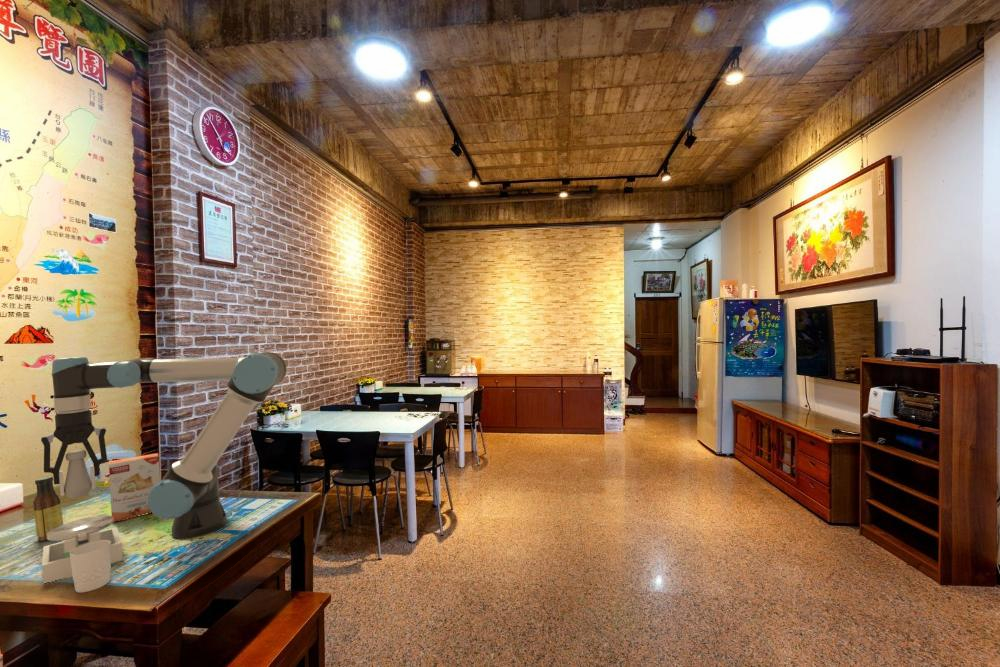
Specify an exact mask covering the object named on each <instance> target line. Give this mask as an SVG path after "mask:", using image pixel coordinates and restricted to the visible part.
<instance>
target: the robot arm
mask: <svg viewBox="0 0 1000 667" xmlns="http://www.w3.org/2000/svg"><path fill="white" fill-rule="evenodd" d="M51 365H52V368H51V377H52V388H53V408H54V410H53V411H54V413H56V414H55V415H54V421H55V422H54V423H55V429H54V431H53V433H51V434H48V435H43V436H41V439H40V440H41V441H40V442H41V443H42V445H43V472H44V473H46V474H47V473H51V474H52V477H53V485H54V486H55V485H59V491H60V493H59V494H60V495H59V496H60V497H63V496H65V492H64V487H65V481H64V470H61V467H62V464H63V460H64V458H65V456H66V452H67V449H68V446H70V445H74V444H83V446H84V448H85V451H86V453H87V454H88V456H89V458H90V459H91V461H92V464H91V465H90V464H89V466H90V468H89V471H90V481H91V484H92V485H91V490H96V477H99V476H100V474H101V473H100V472H101V470H100V469H101V468H100V465H101V464H102V463H105V462H107V461H108V453H107V448H106V447H107V446H106V441H105V435H106V432H107V429H106V427H95V426H94V425H93V420H92V410H90V409H91V407H92V405H91V403H92V402H91V390H95V389H115V388H118V389H121V388H122V389H123V388H128V387H133V386H135V385H137V384H141V383H143V384H145V383H146V384H148V383H150V384H151V383H179V382H180V383H181V382H223V381H224V382H225V381H226V382H227V383H226V384H225V385H226V389H227V392H226V394H225V396H224V397H223V399H222V400H221V402H220V403H219V405H218V406H217V408H216V409H215V410H214V412H213V413H212V415H211V416H210V418H209V419H208V421H207V423H206V424H205V425H204V427H203V428H202V430H201V431H200V432H199V434H198V436H197V437H196V439H195V440H194V442H193V443H192V445H191V446H190V447H189V449H188V450H187V452H186V453H185V455H184V456H183V458H182V459H180V460H177V461H174V462H173V463H172V464H171V466H170V467H169V469H168V470H167V472H166V473H165V475H164V476H163V477H162V479H160V482H158V483H157V484H155V485H154V486H153V487H152V489H151V490H150V492H149V493H148V496H147V504H148V506H149V509H150V510H151V512H152V514H153V515H154V516H156V517H158V518H161V519H166V520H167V519H168V520H170V519H171V520H172V519H173V523H172V526H171V536H172V538H175V539H191V538H196V537H201V536H205V535H207V534H210V533H213V532H216V531H217V530H219V529H221V528H223V527H224V526H225V525H226V524H227V523H228V519H227V518H228V517H227V514H226V511H225V509H224V507H223V504H222V503H221V500H220V487H219V485H220V484H219V469H218V468H219V465H218V462H219V460H220V458H221V457H222V456H223V454H224V452H225V451H226V450H227V448H228V446H229V445H230V443H231V442H232V440H233V439H234V437H236V434H237V433H238V431H239V430H240V429H241V427H242V425H243V424H244V422H245V421H246V419H247V418H248V416H249V415H250V413H251V412H252V410H253V409H254V408H255V406H256V405H258V404H261V403H264V402H265V400H266V399H267V397H268V396H269V395H270V393H271V392H272V390H273V388H274V387H275V386H277V385H278V384H279V383H281V382H282V381H283V379H285V376H286V375H287V364H286V362H285V360H284V359H283V358H282V357H281V355H279V354H277V353H274V352H270V351H265V352H263V351H262V352H255V353H254V352H253V353H250V354H243V355H242V356H241V357H216V358H215V357H213V358H212V357H211V358H210V357H208V358H202V357H201V358H156V359H155V358H154V359H152V358H151V359H150V358H148V359H147V358H135V359H131V360H130V359H129V360H127V359H126V360H117V361H108V362H107V361H106V362H89V359H88V357H86V356H75V357H74V356H73V357H72V356H71V357H61V358H60V357H59V358H55V359H53V360H52V363H51ZM93 432H95V435H96V436H98V437H97V438H98V444H99V452H100V458H98V457H97V455H96V454H95V451H94V449H93V447H92V445H91V442H89V440H88V439H89V438H90V436H91V435H92V434H93ZM54 438H56V439H57V440H58V441H60V443H61V446H60V448H59V452H58V455H57V458H56V460H55V463H54V467H53V466H51V443H53V442H54Z"/></svg>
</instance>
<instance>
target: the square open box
mask: <svg viewBox="0 0 1000 667" xmlns="http://www.w3.org/2000/svg"><path fill="white" fill-rule="evenodd" d="M89 538H90V542H94V541H99V540H110V541H111V564H114V563H117V562H120V561H123V558H124V557H123V545H122V544H123V543H122V540H121V537H120V533H119V531H118V527H117V526H116V527H115V526H114V527H112V528H107V529H102V530H100V531H98V532H94V533H91V534H89ZM75 548H76V539H75V538H72V539H68V540H62V541H58V542H56V543H55V542H54V543H52V544H47V545H44V546H43V550H42V560H41V573H42V574H41V575H42V585H43V584H44V583H47V582H50V583H53V582H56V581H55V580H57V581H60V580H62V579H69V578H73V575H72V569H71V561H70V554H69V553H70V551H72V550H73V549H75ZM59 579H60V580H59ZM52 581H53V582H52ZM47 584H48V583H47ZM44 585H45V584H44Z"/></svg>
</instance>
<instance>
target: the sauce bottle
mask: <svg viewBox="0 0 1000 667" xmlns="http://www.w3.org/2000/svg"><path fill="white" fill-rule="evenodd" d="M34 483H35V485H36V493H37V494H36V495H35V497H34V500H33V501H32V502H33V515H34V522H35V530H36V531H35V532H36V537H37V540H38V541H39V542H43V541H46V540H47V541H49V540H48V539H47V533H48V532H49V531H51V530H52V529H54V528H56V527H58V526H61V525H63V524H64V519H63V511H62V503H61V499H60V497H59V495H58V494H57V492H56V490H55V489H54V488H55V487H54V478H53V475H48V476H47V475H46V476H43V477H39V478H36V479H35V480H34Z"/></svg>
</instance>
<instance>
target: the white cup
mask: <svg viewBox="0 0 1000 667" xmlns="http://www.w3.org/2000/svg"><path fill="white" fill-rule="evenodd" d="M69 554H70V561H71V569H72V575H73V577H72V580H73V584H74V585H73V586H74V591H75V592H76V593H86V592H92V591H94V590H98V589H99V588H102V587H104V586H105V585H107V584H108V583H109V582H110V581H111V567H112V565H111V564H112V563H111V541H110V540H99V541H94V542H90V543H87V544H84V545H81V546H79V547H77V548H75V549H73V550H72V551H70V553H69Z"/></svg>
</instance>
